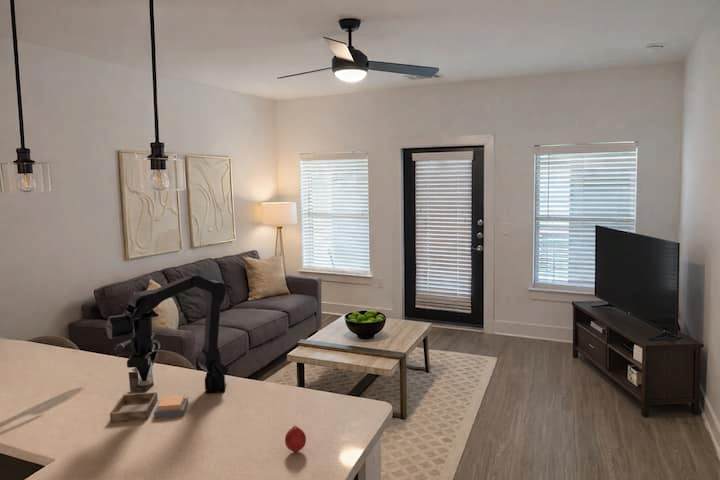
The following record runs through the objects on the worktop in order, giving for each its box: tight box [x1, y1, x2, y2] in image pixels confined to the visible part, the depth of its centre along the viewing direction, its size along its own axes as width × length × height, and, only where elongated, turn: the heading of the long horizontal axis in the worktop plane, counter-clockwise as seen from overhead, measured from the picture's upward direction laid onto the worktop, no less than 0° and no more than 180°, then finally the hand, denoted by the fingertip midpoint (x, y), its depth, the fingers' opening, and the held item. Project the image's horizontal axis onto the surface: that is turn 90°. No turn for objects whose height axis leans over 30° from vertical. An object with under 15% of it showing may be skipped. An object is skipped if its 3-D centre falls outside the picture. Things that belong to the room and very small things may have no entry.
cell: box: [138, 364, 154, 386], centre depth 166 cm, size 4×4×8 cm
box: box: [128, 367, 154, 393], centre depth 186 cm, size 6×6×7 cm
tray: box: [109, 391, 158, 423], centre depth 168 cm, size 11×14×3 cm
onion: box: [284, 425, 307, 454], centre depth 142 cm, size 6×6×8 cm
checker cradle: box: [153, 397, 189, 419], centre depth 168 cm, size 9×9×2 cm
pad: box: [157, 394, 186, 411], centre depth 168 cm, size 7×7×2 cm
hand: (145, 378), depth 166 cm, fingers closed on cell, 4 cm apart
